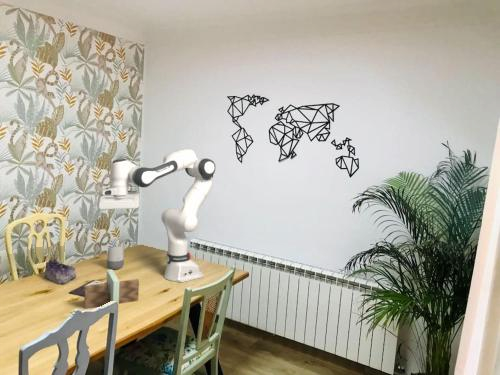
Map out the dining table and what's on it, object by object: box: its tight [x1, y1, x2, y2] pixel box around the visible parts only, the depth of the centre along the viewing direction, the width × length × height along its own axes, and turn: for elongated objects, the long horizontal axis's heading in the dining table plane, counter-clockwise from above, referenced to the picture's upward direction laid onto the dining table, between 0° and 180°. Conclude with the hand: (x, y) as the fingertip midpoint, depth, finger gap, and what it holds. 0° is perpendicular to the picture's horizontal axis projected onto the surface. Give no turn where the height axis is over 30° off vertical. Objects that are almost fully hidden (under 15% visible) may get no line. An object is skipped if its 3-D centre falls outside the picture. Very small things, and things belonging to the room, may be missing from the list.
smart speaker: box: [106, 245, 125, 271], centre depth 223 cm, size 10×9×14 cm
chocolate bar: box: [68, 279, 106, 298], centre depth 193 cm, size 9×1×18 cm
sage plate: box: [106, 269, 120, 303], centre depth 178 cm, size 16×2×14 cm, turn 31°
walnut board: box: [83, 278, 140, 310], centre depth 178 cm, size 24×2×10 cm, turn 121°
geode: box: [44, 258, 77, 285], centre depth 202 cm, size 20×12×10 cm, turn 63°
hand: (118, 217), depth 194 cm, fingers open, 8 cm apart
